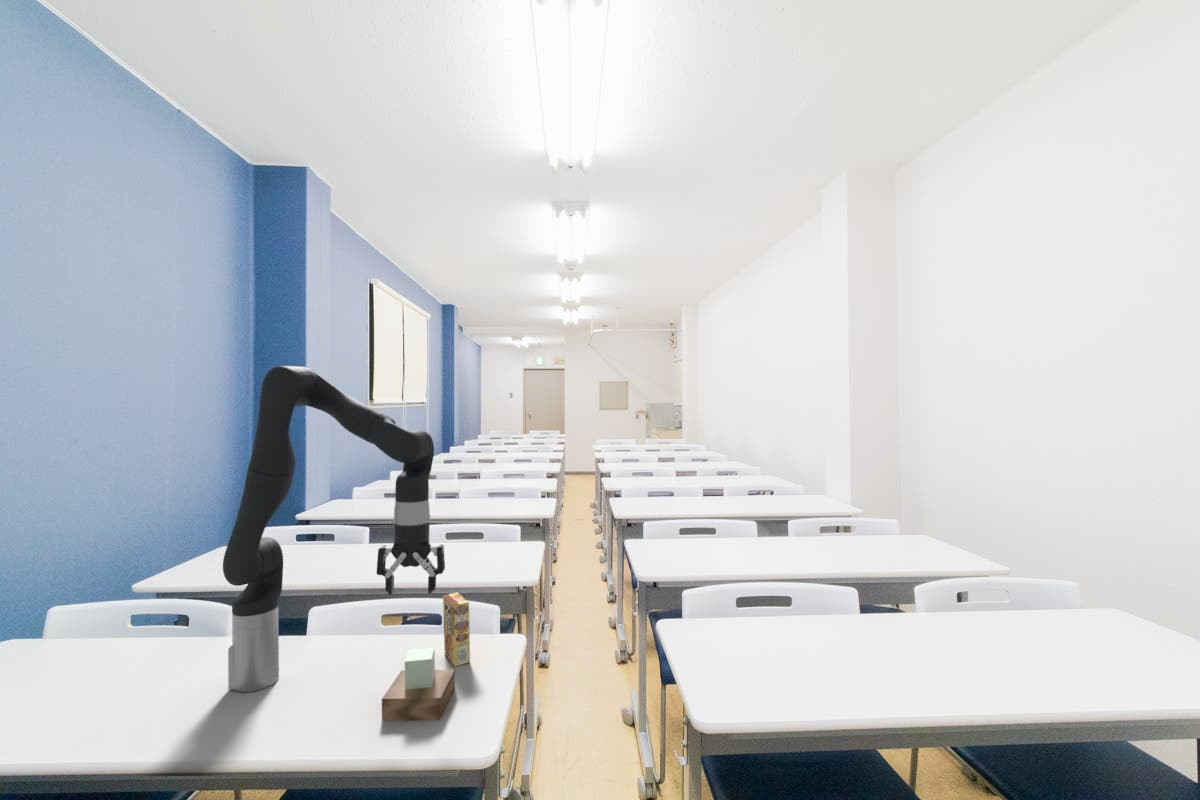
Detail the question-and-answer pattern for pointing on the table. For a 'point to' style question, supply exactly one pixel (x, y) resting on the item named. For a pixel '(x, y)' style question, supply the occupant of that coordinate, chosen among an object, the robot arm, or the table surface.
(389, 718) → the walnut block
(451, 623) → the candy box
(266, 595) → the robot arm
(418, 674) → the sage cube
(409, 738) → the table surface
